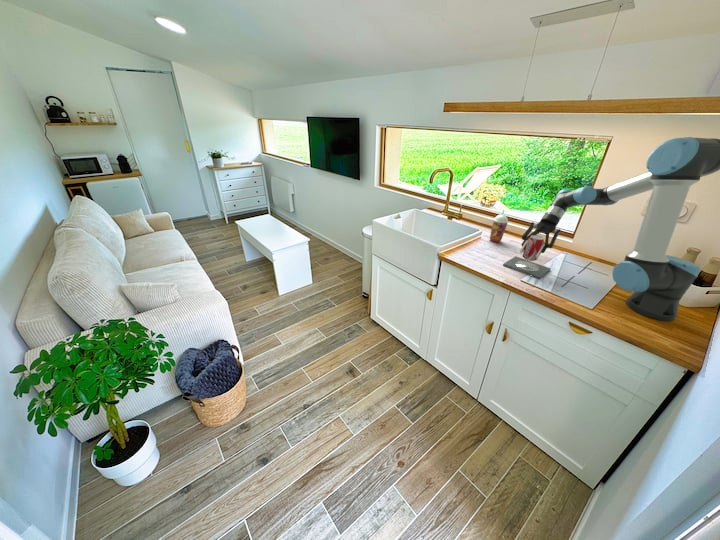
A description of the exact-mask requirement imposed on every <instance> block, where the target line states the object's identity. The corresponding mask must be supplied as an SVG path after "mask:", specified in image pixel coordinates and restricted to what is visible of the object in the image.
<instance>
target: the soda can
mask: <svg viewBox="0 0 720 540" xmlns="http://www.w3.org/2000/svg"><path fill="white" fill-rule="evenodd" d="M544 239H545V238H544V237H543V236H541V235H539V234H537V235H531V237H530V238H529V239H528V241H527V244H526V246H525V249H524V251H523V252H522V258H523V259H525V260H528V261H531V262H534V261H537V260H538V259H537V258H536V255H537V253H538V252H539V250H540V248H541V247H542V246H543V245H545V240H544Z"/></svg>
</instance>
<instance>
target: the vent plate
mask: <svg viewBox="0 0 720 540" xmlns="http://www.w3.org/2000/svg"><path fill="white" fill-rule="evenodd" d="M502 266H504V267H505V268H506V267H507V268H509V269H512V270H513V271H517V272H519V273H522V274H524V275H527V276H530V275H532V276H533V278H535V279H538V280H540V279H542V278H543V277H544V276H545V275H546V274H548V273H549V272H550V271H551V270H552V268H551V267H548V266H545V265H542V264H539V263H536V262H534V261H529V260H526V259H524V258H523V257H522V258H521V257H520V256H517V255H516V256H514V257H512V258H510V259H509V260H507V261H506V262H504V263H503V264H502ZM532 276H531V277H532Z"/></svg>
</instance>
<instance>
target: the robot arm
mask: <svg viewBox="0 0 720 540" xmlns="http://www.w3.org/2000/svg"><path fill="white" fill-rule="evenodd" d="M646 169H647V170H648V171H645V172H643V173H641V174H638V175H635V176H633V177H631V178H628V179H625V180H622V181H620V182H617V183H614V184H611V185H610V186H607V187H604V188H594V187H592V186H591V185H588V186H581V187H579V188H576V189H573V190H572V189H568V188H567V189H560V190H559V191H558V193H557V194H556V195H554V198H553V200H552V201H551V203H550V205H549V207H548V208H547V209H546V211H545V213H544V214H543V216H542V217H541V219H540V221H539V222H538V223H535V222H533V221H532V222H531V223H530V225H529V227H528V228H527V230H526V231H524V233H523V234H522V236H521V240H522V243H521V248H520V250H519V253H520V254H523V252H524V249H525V246H526V244H527V241H528V239H529V238H530V237H531V235H539V234H544V235H545V238H544V239H545V240H544V244H543V246H542V247H541V248H540V250H539V252H538V253H537V255H536V258H537V260H538V259H539V257H540V256H541V255H542V254H545V252H546V250H547V249H553V247H554V245H555V242H556V240H557V237H558V236H560V235H561V231H562V230H561V229H560V228H559V229H558V228H557V226H558V225H559V223H560V221H561V220H562V218H563V216H564V215H565V213H566V212H567V210H568V209H569V208H573V207H577V206H612V205H615V204H617V203H618V202H619V201H621V200H623V199H627V198H630V197H633V196H636V195H638V194H642V193H646V192H648V191H651V195H650V197H649V200H648V202H647V207H646V209H645V212H644V215H643V218H642V221H641V225H640V229H639V231H638V235H637V237H636V240H635V242H634V243H635V244H634V246H633V250H632V251H629V252H628V253H626V254H625V257H624V260H623V261H620V262H618V263H617V264H615V265H614V267H613V269H612V272H611V273H612V274H611V275H612V279H613V281H614V283H615V284H616V286H617V287H618V288H620V289H622V290H623V291H626V292H633V293H631V294H630V296H628V298H626V300H625V303H626V306H628V308H629V309H631V310H633V311H634V312H636V313H638V314H640V315H642V316H644V317H647V318H650V319H653V320H657V321H663V322H671V321H674V320H675V318H676V317H677V315H678V314H679V306H680V301H681V300H682V298H683V297H684V295H685V294H686V292H687V291H688V290H689V289H690V288H691V286H692V285H693V283H694V282H695V280H696V279H697V278H698V277H699V276H698V275H699V274H700V272H702V271H701V270H702V269H701V267H700V266H699V265H698V264H696V263H694V262H692V261H689V260H686V259H683V258H682V257H678V256H672V255H669V254H666V253H667V251H668V248H669V246H670V242H671V239H672V237H673V234H674V233H675V229H676V227H677V223H678V221H679V219H680V216H681V214H682V213H681V212H682V211H683V208H684V205H685V202H686V199H687V196H688V193H689V192H690V188H691V186H693V185H695V184H697V183H698V182H699V181H700V179H701V178H702V177H706V176H709V175H712V174H714V173H716V172H719V171H720V139H719V138H706V137H692V136H690V137H689V136H687V137H686V136H685V137H684V136H683V137H675V138H670V139H668V140H666V141H664V142H662V143H661V144H660V145H657V146H656V147H655V148H654V149H653V150H652V151H651V152H650V154H649V155H648V157H647V160H646ZM536 227H537V228H536ZM534 229H535V230H534ZM533 230H534V231H533ZM553 232H554V234H553V236H552V238H551V241H550V243H549V239H550V234H551V233H553Z"/></svg>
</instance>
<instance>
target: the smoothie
mask: <svg viewBox="0 0 720 540" xmlns="http://www.w3.org/2000/svg"><path fill="white" fill-rule="evenodd" d="M508 219H509V218H508V217H507V215H505V209H502V213H501V214H498V215H496V216H495V217H494V218H493V219H492V225H491V228H490V229H491V230H490V235H489V240H490V242H492V243H496V244H497V243H500V242H501V241H502V239H503V236H504V234H505V231H506V228H507V226H508V224H509V220H508Z"/></svg>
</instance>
